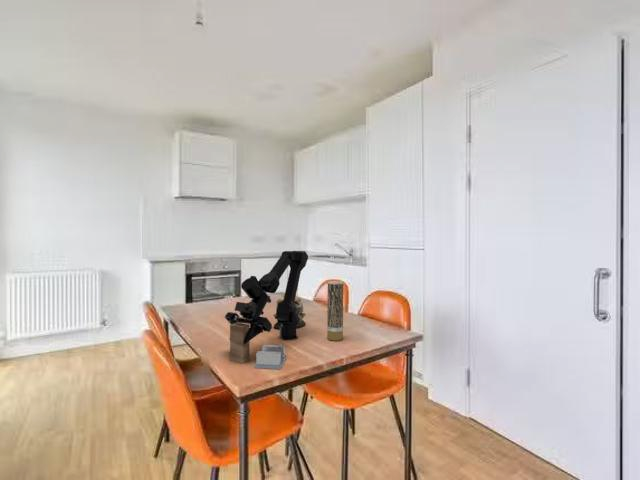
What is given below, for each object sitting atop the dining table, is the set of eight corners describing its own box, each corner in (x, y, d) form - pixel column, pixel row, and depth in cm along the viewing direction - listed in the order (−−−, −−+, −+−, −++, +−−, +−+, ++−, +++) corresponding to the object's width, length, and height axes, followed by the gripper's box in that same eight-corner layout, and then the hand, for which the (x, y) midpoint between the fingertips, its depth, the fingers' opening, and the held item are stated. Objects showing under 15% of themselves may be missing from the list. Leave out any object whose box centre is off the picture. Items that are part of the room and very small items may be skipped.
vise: (265, 353, 133) (265, 340, 133) (288, 354, 132) (288, 341, 132) (254, 367, 119) (254, 353, 119) (280, 369, 118) (280, 354, 118)
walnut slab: (236, 357, 129) (236, 322, 129) (249, 360, 126) (249, 324, 126) (230, 360, 126) (230, 324, 126) (242, 363, 123) (243, 326, 123)
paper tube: (342, 336, 156) (342, 280, 155) (343, 341, 149) (344, 283, 148) (326, 336, 155) (327, 280, 155) (327, 341, 149) (328, 283, 148)
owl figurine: (281, 332, 162) (280, 296, 161) (267, 327, 171) (266, 292, 170) (310, 325, 174) (310, 291, 173) (296, 321, 182) (296, 288, 182)
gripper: (228, 290, 134) (206, 326, 124) (267, 295, 125) (247, 334, 115) (241, 307, 141) (222, 342, 131) (280, 312, 132) (261, 350, 122)
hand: (237, 341), depth 125 cm, fingers closed on walnut slab, 6 cm apart
